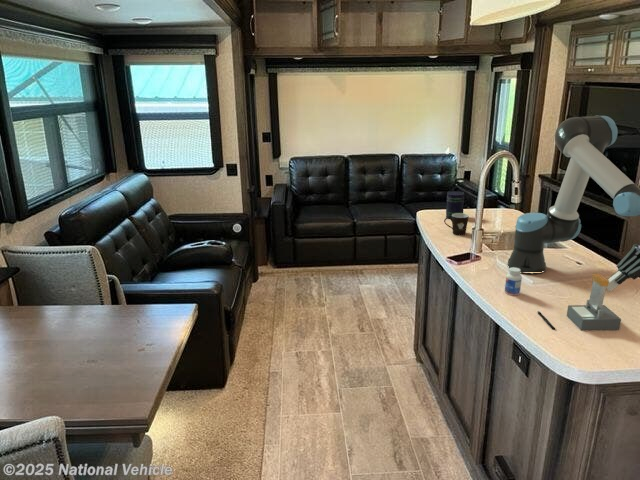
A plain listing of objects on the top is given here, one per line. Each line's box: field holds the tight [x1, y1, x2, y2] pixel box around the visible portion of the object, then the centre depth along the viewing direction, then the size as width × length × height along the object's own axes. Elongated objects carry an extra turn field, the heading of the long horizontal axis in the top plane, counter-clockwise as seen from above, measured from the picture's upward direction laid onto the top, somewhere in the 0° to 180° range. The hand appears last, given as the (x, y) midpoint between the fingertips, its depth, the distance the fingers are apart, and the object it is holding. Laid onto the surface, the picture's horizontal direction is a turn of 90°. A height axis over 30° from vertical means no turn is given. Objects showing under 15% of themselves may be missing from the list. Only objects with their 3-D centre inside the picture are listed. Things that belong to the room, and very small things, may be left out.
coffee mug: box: [444, 212, 470, 236], centre depth 248 cm, size 12×9×10 cm
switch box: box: [566, 299, 622, 332], centre depth 154 cm, size 12×10×6 cm
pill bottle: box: [504, 267, 523, 296], centre depth 177 cm, size 6×5×10 cm
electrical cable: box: [536, 311, 556, 331], centre depth 158 cm, size 12×1×1 cm, turn 179°
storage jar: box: [445, 190, 465, 219], centre depth 275 cm, size 10×10×15 cm
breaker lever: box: [588, 273, 609, 314], centre depth 152 cm, size 2×6×12 cm, turn 178°
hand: (606, 288), depth 151 cm, fingers closed
